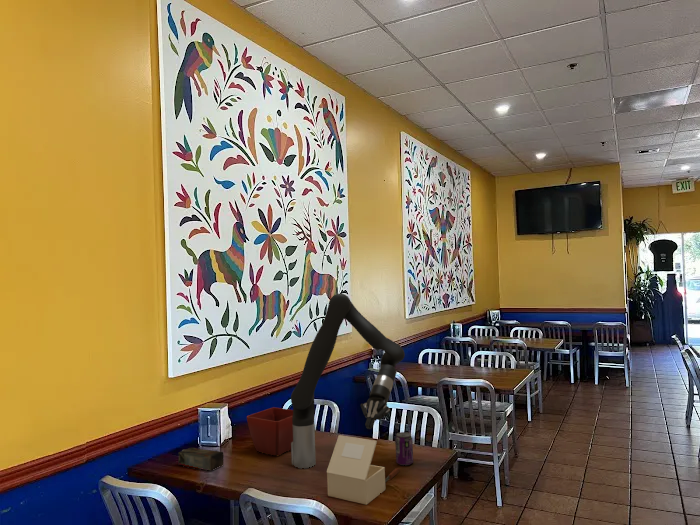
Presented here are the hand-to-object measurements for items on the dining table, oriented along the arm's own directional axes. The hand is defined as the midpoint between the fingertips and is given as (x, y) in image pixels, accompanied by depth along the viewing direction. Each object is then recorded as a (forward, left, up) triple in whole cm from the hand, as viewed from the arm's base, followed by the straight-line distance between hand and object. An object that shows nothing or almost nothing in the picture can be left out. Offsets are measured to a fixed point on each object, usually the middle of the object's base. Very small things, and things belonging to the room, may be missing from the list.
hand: (368, 427), depth 191 cm
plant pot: (-57, +13, -21) cm, 62 cm away
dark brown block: (-74, -16, -21) cm, 79 cm away
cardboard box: (0, -10, -21) cm, 23 cm away
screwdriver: (+5, +7, -21) cm, 23 cm away
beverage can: (+3, +24, -21) cm, 32 cm away
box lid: (0, -12, -7) cm, 14 cm away
